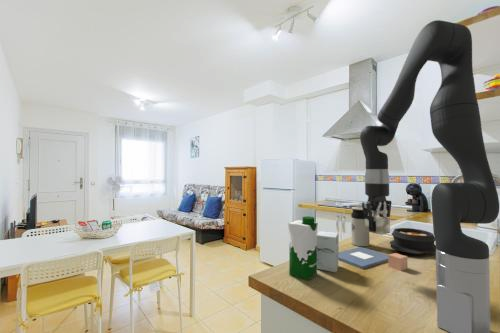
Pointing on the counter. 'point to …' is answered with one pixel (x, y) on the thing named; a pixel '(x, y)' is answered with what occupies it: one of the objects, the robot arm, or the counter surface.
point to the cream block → (379, 225)
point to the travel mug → (359, 228)
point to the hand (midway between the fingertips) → (377, 230)
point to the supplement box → (327, 251)
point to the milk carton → (303, 248)
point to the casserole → (413, 241)
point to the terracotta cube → (397, 261)
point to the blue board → (362, 257)
